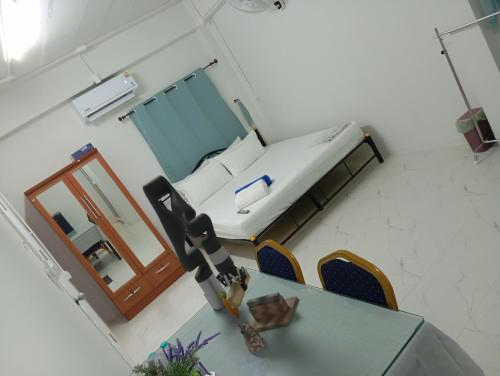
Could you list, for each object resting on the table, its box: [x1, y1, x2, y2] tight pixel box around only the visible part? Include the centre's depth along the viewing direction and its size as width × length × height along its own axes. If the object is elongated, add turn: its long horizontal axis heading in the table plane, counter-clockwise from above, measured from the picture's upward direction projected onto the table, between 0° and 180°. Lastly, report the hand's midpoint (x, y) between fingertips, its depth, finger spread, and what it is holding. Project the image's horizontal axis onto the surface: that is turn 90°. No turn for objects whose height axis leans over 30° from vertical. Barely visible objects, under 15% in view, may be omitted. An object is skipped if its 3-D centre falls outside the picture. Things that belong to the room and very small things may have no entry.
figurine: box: [237, 321, 266, 354], centre depth 176 cm, size 7×7×12 cm
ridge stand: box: [245, 291, 299, 332], centre depth 190 cm, size 20×16×10 cm
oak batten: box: [226, 267, 251, 308], centre depth 186 cm, size 4×20×5 cm, turn 166°
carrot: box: [219, 290, 240, 318], centre depth 204 cm, size 5×5×15 cm
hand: (241, 290), depth 187 cm, fingers closed on oak batten, 4 cm apart
